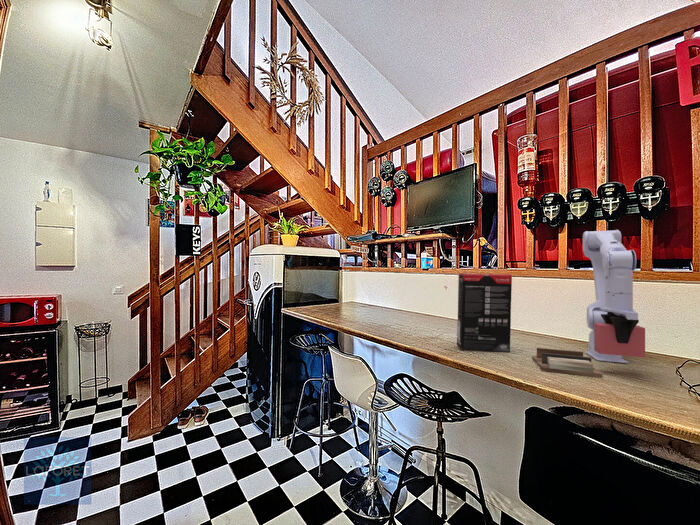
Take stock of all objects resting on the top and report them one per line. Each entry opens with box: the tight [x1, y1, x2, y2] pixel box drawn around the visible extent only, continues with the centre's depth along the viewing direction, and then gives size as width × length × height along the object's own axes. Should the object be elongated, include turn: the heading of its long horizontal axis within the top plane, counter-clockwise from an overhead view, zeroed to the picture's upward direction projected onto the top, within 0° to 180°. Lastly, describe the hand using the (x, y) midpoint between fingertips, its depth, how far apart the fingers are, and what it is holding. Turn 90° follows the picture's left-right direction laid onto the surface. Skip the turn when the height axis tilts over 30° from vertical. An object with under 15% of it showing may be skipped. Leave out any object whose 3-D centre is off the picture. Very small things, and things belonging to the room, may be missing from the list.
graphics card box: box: [456, 273, 513, 353], centre depth 106 cm, size 17×7×27 cm, turn 84°
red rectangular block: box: [594, 323, 646, 358], centre depth 83 cm, size 4×10×8 cm, turn 70°
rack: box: [531, 347, 604, 379], centre depth 87 cm, size 12×14×4 cm
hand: (618, 341), depth 83 cm, fingers closed on red rectangular block, 3 cm apart
